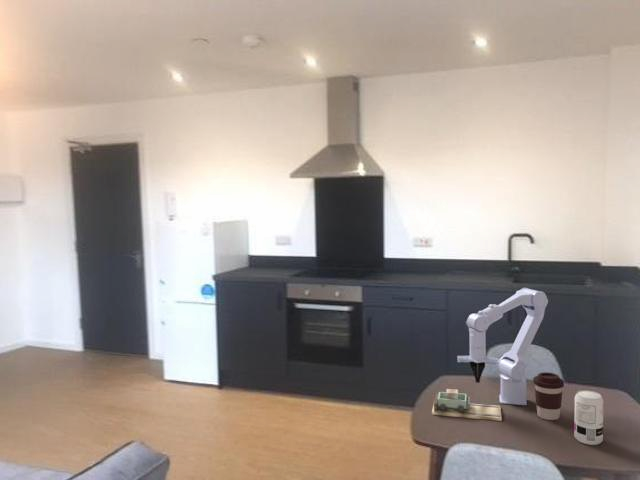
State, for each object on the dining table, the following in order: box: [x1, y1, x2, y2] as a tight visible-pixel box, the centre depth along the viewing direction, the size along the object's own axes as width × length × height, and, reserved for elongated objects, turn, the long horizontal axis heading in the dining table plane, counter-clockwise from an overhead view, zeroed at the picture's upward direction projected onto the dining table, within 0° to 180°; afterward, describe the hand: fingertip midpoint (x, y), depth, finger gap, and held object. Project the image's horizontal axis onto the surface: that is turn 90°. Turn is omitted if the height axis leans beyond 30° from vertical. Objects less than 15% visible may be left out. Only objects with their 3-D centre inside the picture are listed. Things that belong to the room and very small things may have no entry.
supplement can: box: [573, 389, 604, 446], centre depth 167 cm, size 8×8×15 cm
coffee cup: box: [532, 372, 565, 421], centre depth 185 cm, size 10×10×15 cm
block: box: [446, 388, 459, 400], centre depth 193 cm, size 4×4×4 cm
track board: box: [431, 392, 502, 422], centre depth 192 cm, size 24×11×4 cm, turn 73°
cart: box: [438, 391, 471, 412], centre depth 193 cm, size 11×9×4 cm
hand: (477, 381), depth 196 cm, fingers closed
